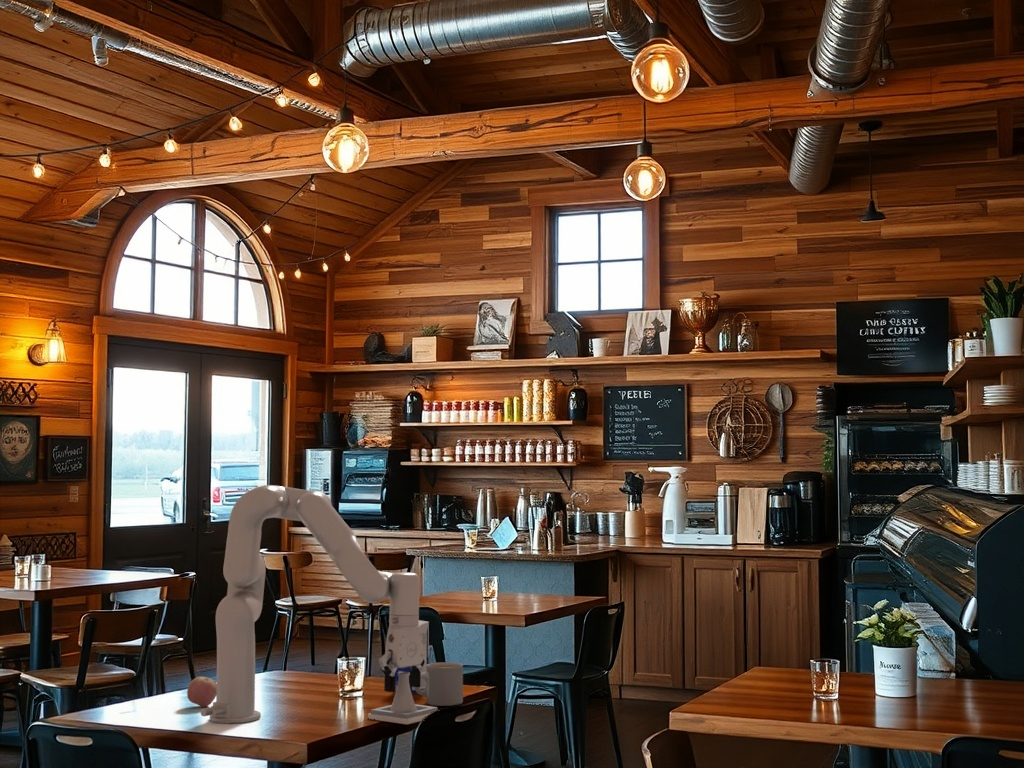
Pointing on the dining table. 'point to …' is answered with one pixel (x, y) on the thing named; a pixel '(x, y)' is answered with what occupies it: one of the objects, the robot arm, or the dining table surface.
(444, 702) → the coffee mug
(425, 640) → the milk carton
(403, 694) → the flask
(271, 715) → the dining table surface
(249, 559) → the robot arm
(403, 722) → the socket board
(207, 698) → the apple
